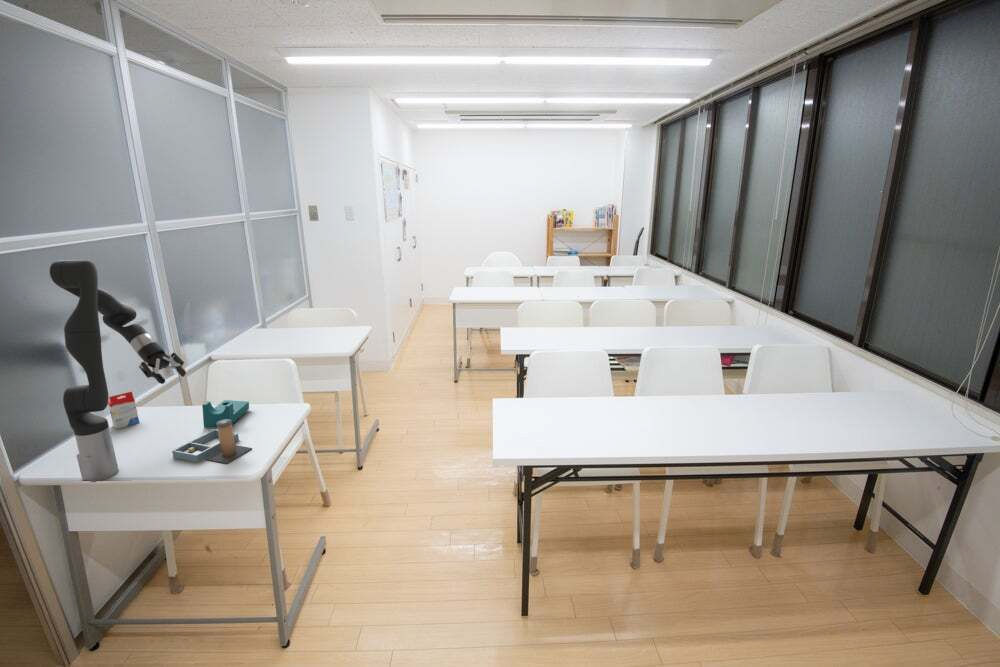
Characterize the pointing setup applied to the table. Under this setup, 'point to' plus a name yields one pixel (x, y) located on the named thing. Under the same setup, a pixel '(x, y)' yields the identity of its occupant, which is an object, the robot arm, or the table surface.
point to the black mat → (225, 460)
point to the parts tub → (199, 448)
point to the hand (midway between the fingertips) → (174, 378)
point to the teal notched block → (223, 412)
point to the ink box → (123, 410)
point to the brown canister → (226, 437)
